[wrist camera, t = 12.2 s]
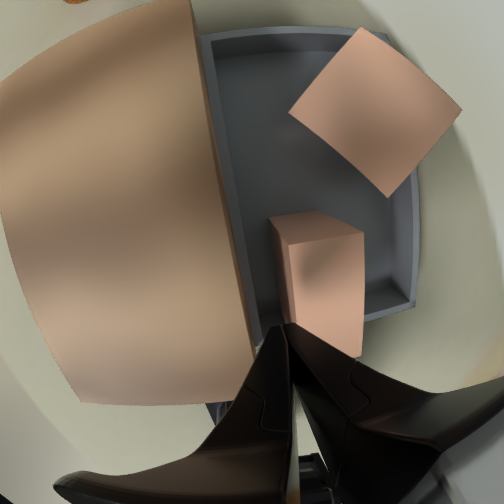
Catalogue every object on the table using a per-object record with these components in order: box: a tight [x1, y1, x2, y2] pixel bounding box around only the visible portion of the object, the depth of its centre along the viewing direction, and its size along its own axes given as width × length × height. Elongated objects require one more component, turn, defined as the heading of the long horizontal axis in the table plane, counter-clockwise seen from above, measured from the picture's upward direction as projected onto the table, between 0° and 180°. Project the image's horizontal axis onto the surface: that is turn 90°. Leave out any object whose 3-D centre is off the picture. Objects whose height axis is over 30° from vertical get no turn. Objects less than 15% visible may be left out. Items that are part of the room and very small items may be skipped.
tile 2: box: [288, 27, 462, 198], centre depth 11 cm, size 6×6×3 cm
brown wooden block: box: [0, 0, 256, 406], centre depth 12 cm, size 17×10×7 cm, turn 9°
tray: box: [199, 26, 420, 347], centre depth 14 cm, size 17×10×3 cm, turn 9°
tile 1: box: [268, 210, 365, 358], centre depth 13 cm, size 6×6×3 cm
